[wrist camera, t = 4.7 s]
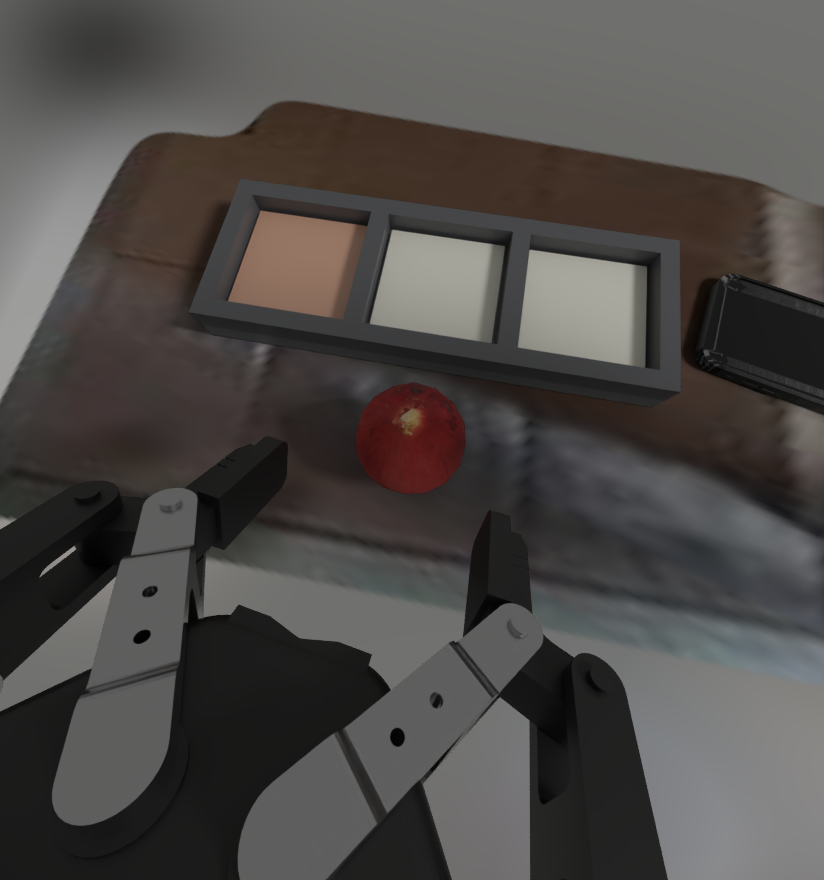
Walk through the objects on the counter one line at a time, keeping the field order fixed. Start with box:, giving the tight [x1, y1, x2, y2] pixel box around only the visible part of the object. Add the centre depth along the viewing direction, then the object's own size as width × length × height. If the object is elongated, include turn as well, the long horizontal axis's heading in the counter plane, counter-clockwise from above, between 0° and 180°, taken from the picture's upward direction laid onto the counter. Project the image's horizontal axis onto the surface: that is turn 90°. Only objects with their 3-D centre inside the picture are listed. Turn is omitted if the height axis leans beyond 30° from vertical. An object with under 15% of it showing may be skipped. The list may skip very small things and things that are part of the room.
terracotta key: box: [228, 211, 367, 319], centre depth 24 cm, size 8×8×1 cm
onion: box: [356, 383, 466, 494], centre depth 18 cm, size 6×6×8 cm
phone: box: [694, 274, 824, 414], centre depth 23 cm, size 8×1×15 cm
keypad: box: [189, 179, 681, 407], centre depth 24 cm, size 30×11×3 cm, turn 80°
